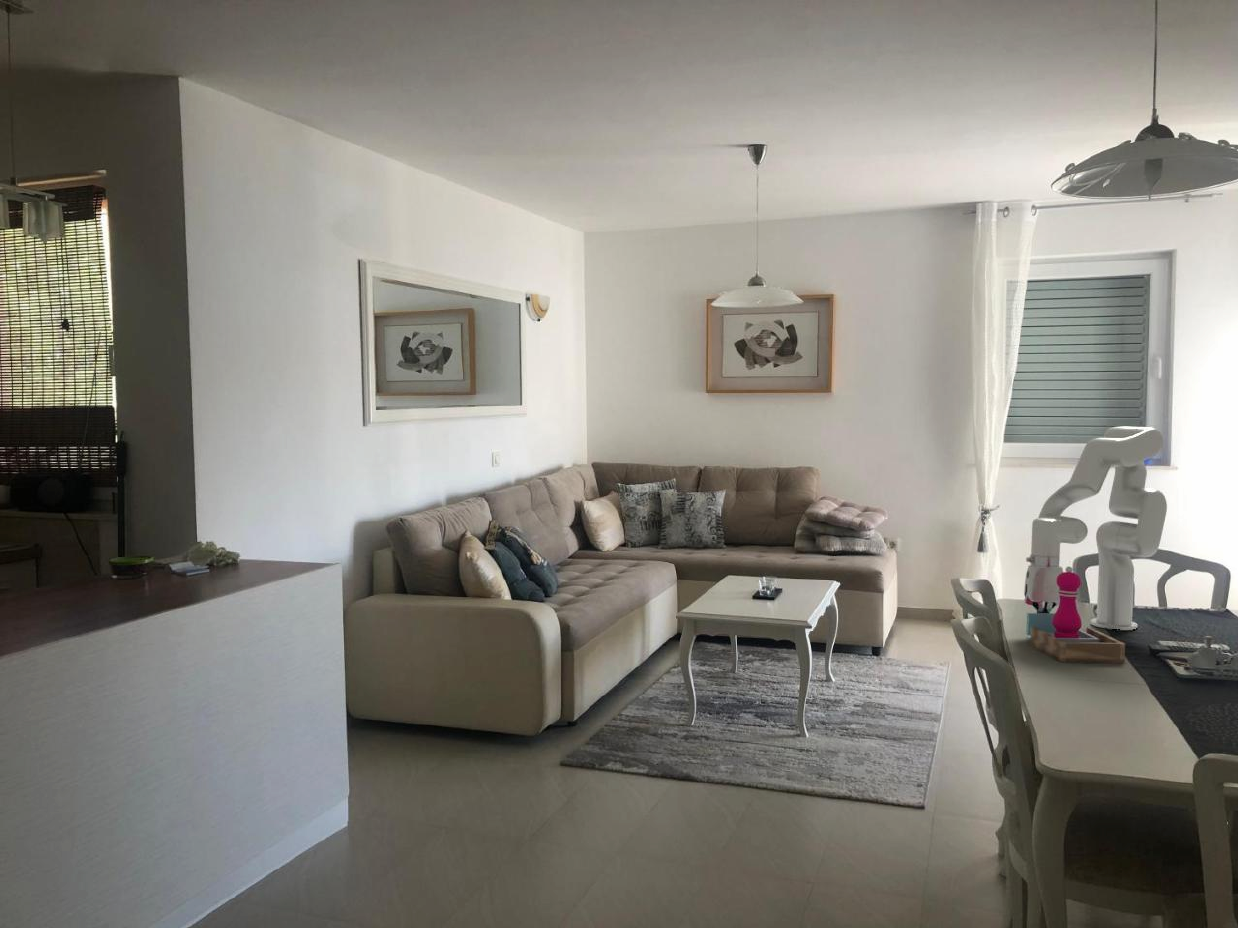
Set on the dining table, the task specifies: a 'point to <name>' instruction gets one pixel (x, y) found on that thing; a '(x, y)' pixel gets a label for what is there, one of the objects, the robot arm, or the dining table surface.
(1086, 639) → the drawer
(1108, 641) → the cubby
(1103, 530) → the robot arm
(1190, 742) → the dining table surface
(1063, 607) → the pepper mill
